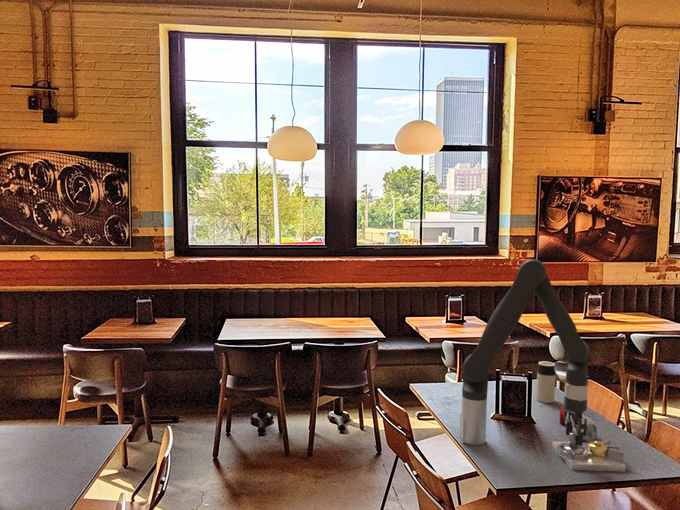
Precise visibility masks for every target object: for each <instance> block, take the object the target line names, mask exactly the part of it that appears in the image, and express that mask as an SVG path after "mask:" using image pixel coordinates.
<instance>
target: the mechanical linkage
mask: <svg viewBox="0 0 680 510" xmlns="http://www.w3.org/2000/svg"><path fill="white" fill-rule="evenodd" d="M563 416H564V407H561V406H560V407H559V424H560V425H561V424H562V425H566V424H565V421H564V420H563ZM566 416H567V415H566Z"/></svg>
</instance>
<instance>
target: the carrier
mask: <svg viewBox="0 0 680 510" xmlns="http://www.w3.org/2000/svg"><path fill="white" fill-rule="evenodd" d="M611 443H612V440H611V439H608V438H605V439H603V440H601V441H600V440H594V441H593V442H586V441H582V446H580V447H582V448H583V455H575V454H570V453H568V452H565V451H563V449H564V445H565V444H569V441H552V446H551V447H552V448H553V449H554V451H556V453H557V454H558V455H559V456H560V457H561V459H562V460H563V461H564V462H565V464H567V466H568V467H569V469H571V471H595V472H596V471H597V472H598V471H601V472H624V473H625V472H627V471H626V468H627V466H626V465H625V463H623V462H624V457H625V456H624V454H625V452H624V451H622V450H619V449H620V446H619V445H618V444H611Z"/></svg>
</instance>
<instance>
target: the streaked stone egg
mask: <svg viewBox="0 0 680 510" xmlns="http://www.w3.org/2000/svg"><path fill="white" fill-rule="evenodd" d="M582 416H583V418H584V419H587V431H586V436H583V441H582V442H585V443H589V442H594V441H596V439H597V436H598V428H597V425H596V423H595V422H594V420H592V418H590V417H588V416H586V415H585V414H582ZM576 426H578V425H576ZM583 431H584V429H583ZM573 432H575V429H574V428H573Z"/></svg>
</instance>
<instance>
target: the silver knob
mask: <svg viewBox="0 0 680 510" xmlns="http://www.w3.org/2000/svg"><path fill="white" fill-rule="evenodd" d="M575 436H576V433H575V432H569V435H568V442H569V444H565V445H564V449H563V451H565V452H568V453H570V454H575V455H583V448H582V447H580V446H577V445H576V444H575Z"/></svg>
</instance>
